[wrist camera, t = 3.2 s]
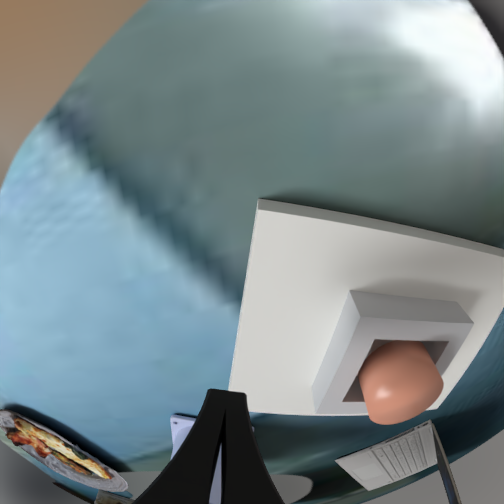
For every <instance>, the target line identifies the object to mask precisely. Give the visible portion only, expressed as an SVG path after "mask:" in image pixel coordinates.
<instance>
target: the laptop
mask: <svg viewBox="0 0 504 504" xmlns="http://www.w3.org/2000/svg"><path fill="white" fill-rule="evenodd" d="M412 429H413V428H412ZM412 429H410V432H409V433H408V431H409V430H407V431H405V432H407V433H408V434H407V433H406V435H404V434H403V433H405V432H403V433H401V434H403V435H404V436H403V435H402V436H401V434H399V435H400V436H401V437H400V436H399V438H397V437H396V436H398V435H396V436H394V437H396V438H397V439H395V440H393V439H394V437H392V438H393V439H392V438H390V439H392V441H390V440H389V439H387V440H389V441H390V442H387V440H385V441H386V442H387V443H386V442H385V441H383V442H381V443H378V444H376V445H373V446H371V447H369V448H366V449H364V450H361V451H359V452H356V453H353V454H351V455H348V456H345V457H343V458H340V459H337V460H335V461H336V462H337V463H338V464H339V465H340V466H341V467H342V468H343V469H345V470H346V471H347V472H348V473H349V474H350V475H351V476H352V477H353V478H355V479H356V480H357V481H358V482H359V483H360V484H361V485H363V486H364V487H365V488H366V489H367V490H368V491H369V490H372V489H375V488H378V487H381V486H384V485H387V484H390V483H392V482H395V481H397V480H400V479H403V478H405V477H407V476H410V475H412V474H415V473H417V472H419V471H421V470H424V469H426V468H428V467H430V466H432V465H435V464H436V463H437V464H438V468H439V471H440V474H441V477H442V480H443V483H444V487H445V490H446V493H447V496H448V500H449V503H450V504H462V503H461V500H460V497H459V493H458V490H457V487H456V484H455V481H454V478H453V475H452V472H451V469H450V466H449V463H448V460H447V458H446V455H445V452H444V449H443V447H442V444H441V441H440V439H439V436H438V434H437V431H436V428H435V426H434V424H433V423H432V421H431V420H428V421H426V422H424V423H422V424H420V425H418V426H416V427H414V430H415V431H414V430H413V431H412V432H411V430H412Z"/></svg>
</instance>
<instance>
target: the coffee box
mask: <svg viewBox="0 0 504 504" xmlns="http://www.w3.org/2000/svg"><path fill="white" fill-rule="evenodd" d="M134 501H135V500H132V499H128V498H125V497H122V496H118V495H115V494H112V493H109V492H106V491H103V490H100V489H99V491H98V494H97V498H96V501H95V504H131V503H133V502H134Z"/></svg>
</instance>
